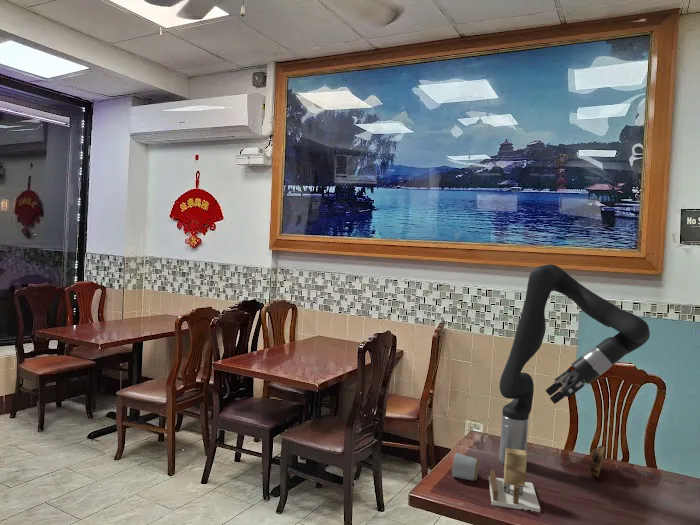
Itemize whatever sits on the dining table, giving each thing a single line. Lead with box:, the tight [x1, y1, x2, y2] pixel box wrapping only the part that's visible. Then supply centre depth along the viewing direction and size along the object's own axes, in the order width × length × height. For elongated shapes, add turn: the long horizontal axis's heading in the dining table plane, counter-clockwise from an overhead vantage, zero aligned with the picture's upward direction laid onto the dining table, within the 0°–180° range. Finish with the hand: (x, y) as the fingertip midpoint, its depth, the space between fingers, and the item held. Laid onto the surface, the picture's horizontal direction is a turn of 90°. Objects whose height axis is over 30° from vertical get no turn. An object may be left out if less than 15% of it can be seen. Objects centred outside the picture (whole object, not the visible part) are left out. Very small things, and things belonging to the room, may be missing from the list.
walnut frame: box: [489, 468, 519, 504], centre depth 164 cm, size 7×16×5 cm, turn 168°
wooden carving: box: [588, 445, 606, 478], centre depth 183 cm, size 16×5×10 cm, turn 152°
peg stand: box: [488, 476, 541, 513], centre depth 164 cm, size 14×17×1 cm
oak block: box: [503, 448, 528, 487], centre depth 163 cm, size 6×4×10 cm, turn 79°
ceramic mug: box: [451, 452, 480, 481], centre depth 175 cm, size 11×8×8 cm
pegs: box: [504, 483, 523, 496], centre depth 164 cm, size 6×4×3 cm
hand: (549, 397), depth 161 cm, fingers open, 8 cm apart
